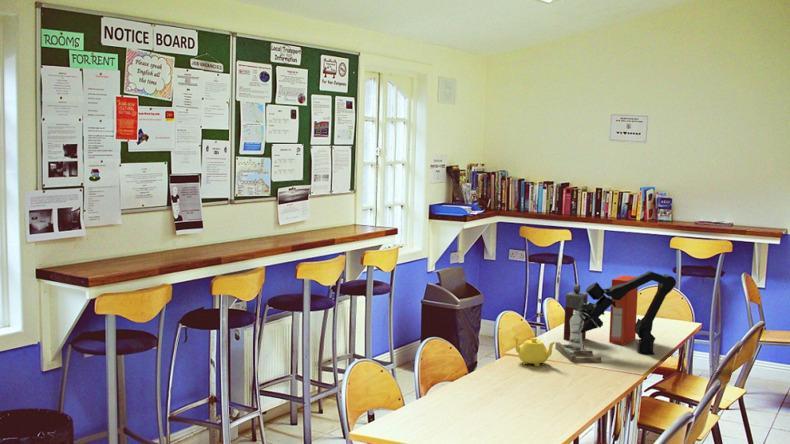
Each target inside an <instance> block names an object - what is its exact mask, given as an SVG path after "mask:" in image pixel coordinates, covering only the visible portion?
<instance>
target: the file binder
mask: <svg viewBox="0 0 790 444" xmlns="http://www.w3.org/2000/svg"><path fill="white" fill-rule="evenodd" d="M636 277H637V276H631V275H621V276H618V277H616V278H612V279H611V287H612V286H615V285H618V284H624V283H626V282H628V281H630V280H632V279H634V278H636ZM638 291H639V287H637V288H635V289H633V290H631V291H629V292H628V293H627V294H626V295H625V296H624V297H622V298H621V299H619V300H614V299H613V298H611V297H610V299H611V300H612V301H615V302H616V303H615V304H616V307H612V306H610V317H609V340H608V343H611V344H616V345H617V344H618V345H623V346H624V345H626V344H627V343H630V342H631V341H633V340H635V339H636V335H637V334H636V332H635V326H634V325H635V324H636V323H637V317H638V316H637V314H638V313H637V312H638V311H637V310H638V296H639V295H638V294H639V292H638Z"/></svg>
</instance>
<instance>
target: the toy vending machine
mask: <svg viewBox="0 0 790 444" xmlns="http://www.w3.org/2000/svg"><path fill="white" fill-rule="evenodd" d="M588 296H589V294H588V293H587V292H581V285H580V284H576V283H575V284H574V285H573V291H569V292H568V293H566V294H565V301H564V302H565V303H564V305H565V306H564V318H563V319H564V321H563V322H564V323H563V340H564V341H570V333H571V332H570V319H571V317H572V316H573V315H574V314H573V310H578V309H579V308H581V307H579V306H578V305H579V303H580V301H581V300H582V301H584V302H586V303H588V300H589V299H588ZM582 309H583V308H582ZM584 310H585V309H584ZM587 322H588V320H587ZM587 322H585V323H584V325H583V327H584V326H585V325H586V323H587ZM586 334H587V331H586V332H584V333H582V342H583V341H584V340H586Z"/></svg>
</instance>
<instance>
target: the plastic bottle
mask: <svg viewBox="0 0 790 444" xmlns="http://www.w3.org/2000/svg"><path fill="white" fill-rule="evenodd" d="M573 314H574V315H573V316H572V317H571V319H570V332H571V333H570V340H569V342H568V344H569V349H570V350H571V351H584V349H583V345H584V344H583V341H582V333H581V332H580V331H581V330H582V328H583V325H584V320H583V318H582V317H581V314H582V313H581V310H573Z"/></svg>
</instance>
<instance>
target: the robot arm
mask: <svg viewBox="0 0 790 444" xmlns="http://www.w3.org/2000/svg"><path fill="white" fill-rule="evenodd" d="M635 277H636V278H634V279H632V280H630V281H628V282H626V283H624V284H618V285H615V286H612V285H611V286H610V287H608V288H603V287H601V286H600V284H599V283H598V282H596V281H595V282H594V283H592V284H590V285H588V286H587V287H586V289H585V293H587V294H588V296H590V299H592V300H594V301H596V302H595V303H592V302H590V301H587V303H586V302H584V301H582V300H581V301H580V303H579V305H578V306H579V307H581V308H579V309H578V310H581V313H582V314H581V317H582V318H583V320H584V323H585V322H587V320H588V322H587V323H586V325H585V326H584V327H583V328H582V330H581V331H580V332H581V333H584V332H586V333H587V332H589V331H592V330H594V329H598V328H600V329H601V328H602V327H603V326H604V321H602V320H601V318H600V316H604V315H605V314H606V313H605V312H606V311H607V310H608V309H609V308H611V306H612V307H616V304H615V303H616V302H615V301H612V300H611V298H613V299H614V300H619V299H621V298H622V297H624V296H625V295H626V294H627V293H628V292H629V291H631V290H633V289H635V288H637V287H638V288H639V287H641V286H643V285H645V284H648V283H649V282H652V281H654V282H656V283H657V291H656V292H655V294H654V296H653V299H652V300H651V302H650V305H649V307H648V308H647V310H646V312H645V314H644V316H643V317H641V319H640V318H637V319H636V324H635V325H634V326H635V332H636V335H637V337H638V341H637V345H636V346H637V347H636V352H638V353H639V354H641V355H655V352H654V343H655V340H656V337H655V336H654V335H653V334H652V330H653V325H654V324H653V323H654V321H655V318H656V317H657V315H658V313H659V310H660V308H661V307H662V305H663V302H664V300H665V299H666V297H667V295H668V294H669V293H671V292H672V290H673V289H674V288H675V286H676V284H677V281H676V279H675V277H674V276H672V275H670V274H666V273H665V274H661V273H656V272H654V271H651V270H648V271H646V272H645V273H643V274H641V275H639V276H635ZM582 308H583V309H582ZM584 309H585V310H584Z"/></svg>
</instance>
